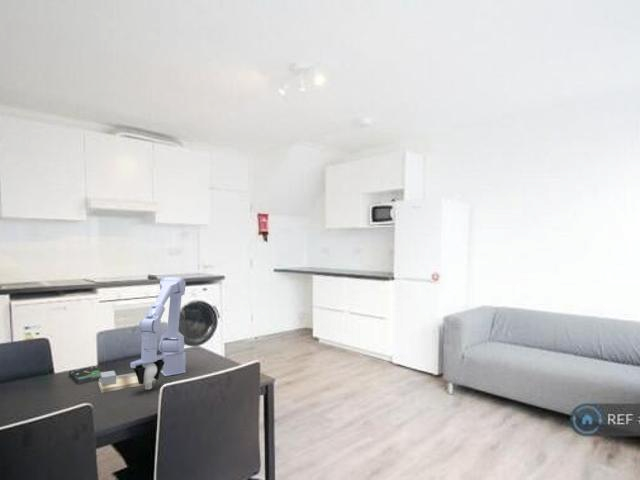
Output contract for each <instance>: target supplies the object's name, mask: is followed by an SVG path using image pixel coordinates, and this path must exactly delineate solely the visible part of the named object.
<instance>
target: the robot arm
mask: <svg viewBox="0 0 640 480" xmlns="http://www.w3.org/2000/svg"><path fill="white" fill-rule="evenodd" d="M186 284H187V283H186V280H185V278H184V277H183V276H178V277H177V276H174V277H173V276H162V277H161V279H160V280H159V289H160V290H159V293H158V296H157V297H156V298H157V299H156V301H155V302H153V303H152V304H151V306H150V307H149V309H148V311H147V313H146V315H145V317H143V318H142V319H141V320H140V322H139V324H138V332H139V336H140V337H141V348H140V351H141V353H140V356H141V357H140V359H137V360H134V361H131V362H130V364H129V365H130V368H131V369H132V370H133V371H134V373H136V375H137V378H138V382H139V384H143V382H144V371H145V368H144V367H143V365H145V364H148V363H150V362H151V363H154V364H156V366H157V373H156V375H155V376H154V379H155V381H156V380H159V376H160V374H162V375H163V376H164V377H169V376H173V375H174V376H175V375H180V374H186V372H187V371H186V361H187V360H186V359H187V358H186V352H185V351H184V349H185V336H184V335H183V334H182V333H181V332H180V331H179V328H180V327H179V326H180V317H181V305H182V296H184V295H185V292H186V286H187V285H186ZM168 299H169V305H168V306H169V307H168V314H167V315H168V317H167V326H166V332H165V333H163V334H162V335H161V337H160V341H159V345H158V332H159V330H160V328H161V322H162V319H161V318H162V317H163V315H164V312H165V311H166V307H165V305H166V303H167V301H168ZM158 349H159V352H161V354H158V355H157V353H158V352H157V350H158Z"/></svg>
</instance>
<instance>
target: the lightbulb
mask: <svg viewBox="0 0 640 480" xmlns="http://www.w3.org/2000/svg"><path fill="white" fill-rule="evenodd" d="M142 366H143V367H144V368H145V371H144V382H145V385H144V390H147V391H150V390H151V389H153V383H152V381H153V378H154V376H155V375H156V373H157V366H156V364H154V363H151V362H150V363H148V364H145V365H142Z"/></svg>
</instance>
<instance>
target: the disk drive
mask: <svg viewBox="0 0 640 480" xmlns="http://www.w3.org/2000/svg"><path fill="white" fill-rule="evenodd" d="M101 372H102V371H101V370H100V369H98V368H97V367H96V366H90V367H86V368H85V367H84V368H80V369H79V370H75V369H74V370H70V371H68V377H69V378H70V379H72V380H73V381H74V382H75V384H76V385H82V384H83V385H84V384H87V383H93V382H98V381H99V379H100V373H101ZM92 381H93V382H92Z"/></svg>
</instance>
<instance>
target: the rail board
mask: <svg viewBox="0 0 640 480" xmlns="http://www.w3.org/2000/svg"><path fill="white" fill-rule="evenodd" d="M152 384H156V379H154V378H153V381H152ZM98 386H99V389H100V393H101V394H104V393H108V392H114V391H118V390H125V389H131V388H134V387H140V386H145V382H143V384H139V382H138V378H137V375H136V373H135V372H131V373H126V374H119V375H117V374H116V371H115V370H109V371H101V373H100V379H99V380H98Z"/></svg>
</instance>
